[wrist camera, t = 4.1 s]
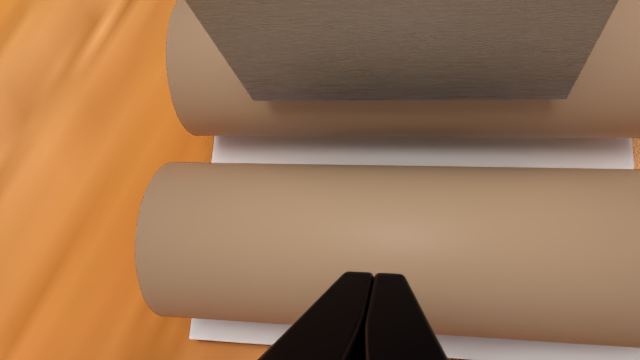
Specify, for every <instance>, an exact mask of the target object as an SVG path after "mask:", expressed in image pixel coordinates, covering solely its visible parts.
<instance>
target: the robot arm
mask: <svg viewBox="0 0 640 360" xmlns="http://www.w3.org/2000/svg"><path fill="white" fill-rule="evenodd" d="M258 360H448V358H447V356H446V354H445V352H444V350H443V348H442V346H441V344H440V342H439V341H438V339H437V337H436V335H435V333H434V331H433V329H432V327H431V325H430V323H429V321H428V319H427V318H426V316H425V314H424V312H423V310H422V308H421V306H420V304H419V302H418V300H417V298H416V297H415V295H414V293H413V291H412V289H411V287H410V285H409V283H408V281H407V279H406V278H405V276H404V275H402V274H397V273H377V274H376V275H375V276H374V275H373V274H372V273H370V272H355V271H347V272H345V273H343V274H342V275H341V276H340V277H339V278H338V279H337V280H336V281H335V282H334V283H333V284H332V285H331V286H330V287H329V288H328V289H327V290H326V291H325V292H324V293H323V294H322V295H321V296H320V297H319V298H318V299H317V300H316V301H315V302H314V303H313V304H312V305H311V306H310V307H309V308H308V309H307V311H306V312H305V313H304V314H303V315H302V316H301V317H300V318H299V319H298V320H297V321H296V322H295V323H294V324H293V325H292V326H291V327H290V328H289V329H288V330H287V331H286V332H285V333H284V334H283V335H282V336H281V337H280V338H279V339H278V340H277V341H276V342H275V343H274V344H273V345H272V346H271V347H270V348H269V349H268V350H267V351H266V352H265V353H264V354H263V355H262V356H261V357H260V358H259V359H258Z"/></svg>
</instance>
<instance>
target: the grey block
mask: <svg viewBox="0 0 640 360" xmlns="http://www.w3.org/2000/svg"><path fill="white" fill-rule="evenodd" d="M185 1H186V3H187V4H188V6H189V7H190V9H191V10H192V11H193V13H194V14H195V16H196V17H197V19H198V20H199V22H200V23H201V25H202V26H203V28H204V29H205V30H206V32H207V33H208V35H209V36H210V38H211V39H212V41H213V42H214V44H215V45H216V47H217V48H218V50H219V51H220V52H221V54H222V55H223V57H224V58H225V60H226V61H227V63H228V64H229V66H230V67H231V69H232V70H233V71H234V73H235V74H236V76H237V77H238V79H239V80H240V82H241V83H242V85H243V86H244V88H245V89H246V91H247V92H248V93H249V95H250V96H251V98H252V99H253V101H314V100H509V99H567V97H568V95H569V93H570V91H571V90H572V88H573V86H574V84H575V82H576V80H577V78H578V76H579V74H580V73H581V71H582V69H583V67H584V65H585V63H586V61H587V59H588V57H589V56H590V54H591V52H592V50H593V48H594V46H595V44H596V42H597V41H598V39H599V37H600V35H601V33H602V31H603V29H604V27H605V25H606V24H607V22H608V20H609V18H610V16H611V14H612V12H613V10H614V8H615V7H616V5H617V3H618V1H619V0H185Z"/></svg>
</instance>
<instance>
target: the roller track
mask: <svg viewBox="0 0 640 360" xmlns="http://www.w3.org/2000/svg"><path fill="white" fill-rule="evenodd" d="M166 67H167V77H168V84H169V90H170V94H171V98H172V102H173V105H174V108H175V111H176V113H177V116H178V118H179V120H180V122H181V123H182V125H183V126H184V128H185V129H186V130H187V131H188V132H189V133H191V134H193V135H195V136H215V138H214V146H213V154H212V162H211V163H198V162H170V163H167V164H165V165H163V166H162V167H161V168H160V169H159V170H158V171H157V172H156V173H155V174H154V176H153V177H152V179H151V181H150V183H149V184H148V187H147V189H146V191H145V194H144V197H143V200H142V203H141V207H140V211H139V216H138V221H137V229H136V240H135V259H136V270H137V277H138V282H139V286H140V289H141V292H142V295H143V298H144V300H145V302H146V303H147V305H148V307H149V308H150V309H151V310H152V311H153V312H154V313H155V314H157V315H160V316H167V317H182V318H192V320H191V328H190V335H189V339H197V340H210V341H224V342H238V343H251V344H265V345H273V344H274V343H275V342H276V341H277V340H278V339H279V338H280V337H281V336H282V335H283V334H284V333H285V332H286V331H287V330H288V329H289V328H290V327H291V326H292V325H293V324H294V323H295V322H296V321H297V320H298V319H299V318H300V317H301V316H302V315H303V314H304V313H305V312H306V311H307V309H308V308H309V307H310V306H311V305H312V304H313V303H314V302H315V301H316V300H317V299H318V298H319V297H320V296H321V295H322V294H323V293H324V292H325V291H326V290H327V289H328V288H329V287H330V286H331V285H332V284H333V283H334V282H335V281H336V280H337V279H338V278H339V277H340V276H341V275H342V274H343V273H345V272H347V271H355V272H370V273H372V274H373V275H374V276H375V275H376V274H377V273H397V274H402V275H404V276H405V278H406V279H407V281H408V283H409V285H410V287H411V289H412V291H413V293H414V295H415V297H416V298H417V300H418V302H419V304H420V306H421V308H422V310H423V312H424V314H425V316H426V318H427V319H428V321H429V323H430V325H431V327H432V329H433V331H434V333H435V335H436V337H437V339H438V341H439V342H440V344H441V346H442V348H443V350H444V352H445V354H446V356H447V358H455V359H469V360H640V169H634V160H633V147H632V138H640V0H619V1H618V3H617V5H616V7H615V8H614V10H613V12H612V14H611V16H610V18H609V20H608V22H607V24H606V25H605V27H604V29H603V31H602V33H601V35H600V37H599V39H598V41H597V42H596V44H595V46H594V48H593V50H592V52H591V54H590V56H589V57H588V59H587V61H586V63H585V65H584V67H583V69H582V71H581V73H580V74H579V76H578V78H577V80H576V82H575V84H574V86H573V88H572V90H571V91H570V93H569V95H568V97H567V99H509V100H314V101H253V99H252V98H251V96H250V95H249V93H248V92H247V91H246V89H245V88H244V86H243V85H242V83H241V82H240V80H239V79H238V77H237V76H236V74H235V73H234V71H233V70H232V69H231V67H230V66H229V64H228V63H227V61H226V60H225V58H224V57H223V55H222V54H221V52H220V51H219V50H218V48H217V47H216V45H215V44H214V42H213V41H212V39H211V38H210V36H209V35H208V33H207V32H206V30H205V29H204V28H203V26H202V25H201V23H200V22H199V20H198V19H197V17H196V16H195V14H194V13H193V11H192V10H191V9H190V7H189V6H188V4H187V3H186V1H185V0H177V2H176V4H175V6H174V8H173V11H172V13H171V17H170V21H169V26H168V32H167V41H166Z"/></svg>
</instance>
